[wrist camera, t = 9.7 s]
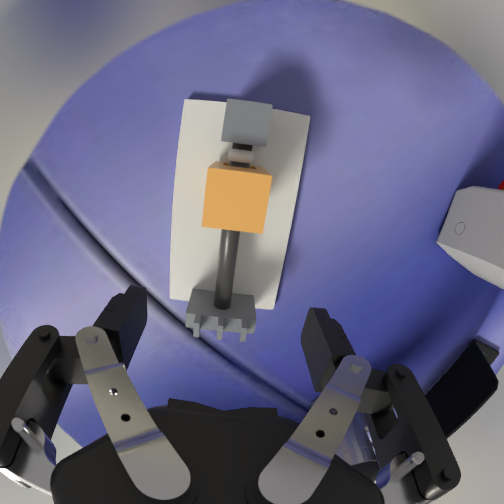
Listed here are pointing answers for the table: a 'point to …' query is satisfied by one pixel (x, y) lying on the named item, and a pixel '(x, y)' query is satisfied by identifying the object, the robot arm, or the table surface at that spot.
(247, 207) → the sleeve
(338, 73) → the table surface
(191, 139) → the cord rig
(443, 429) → the laptop
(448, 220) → the electrical switch box
